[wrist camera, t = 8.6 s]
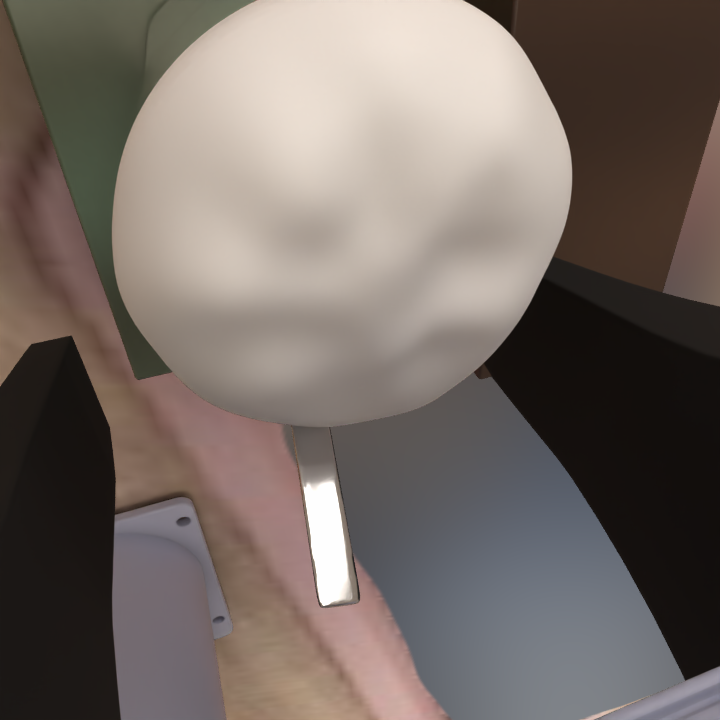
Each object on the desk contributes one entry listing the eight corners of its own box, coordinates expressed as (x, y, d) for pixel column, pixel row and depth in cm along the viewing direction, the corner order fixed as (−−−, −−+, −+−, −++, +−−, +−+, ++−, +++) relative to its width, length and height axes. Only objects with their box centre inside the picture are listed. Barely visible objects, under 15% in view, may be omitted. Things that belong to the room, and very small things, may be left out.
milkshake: (96, 200, 13) (91, 640, 5) (113, -111, 10) (158, -119, 3) (302, 228, 15) (519, 582, 7) (364, -27, 12) (815, 112, 4)
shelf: (519, 229, 21) (651, 335, 16) (130, 311, 18) (143, 471, 13) (586, -324, 13) (888, -459, 8) (-83, -337, 10) (-257, -559, 5)
